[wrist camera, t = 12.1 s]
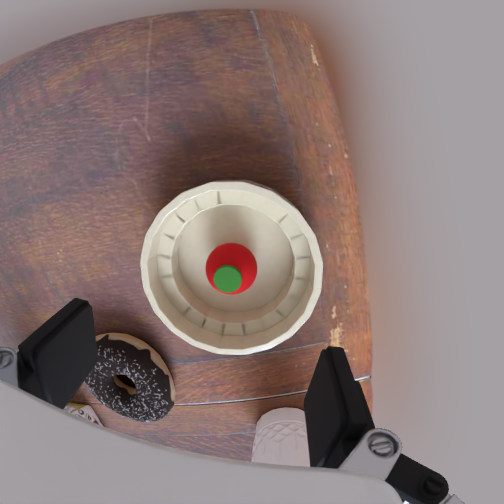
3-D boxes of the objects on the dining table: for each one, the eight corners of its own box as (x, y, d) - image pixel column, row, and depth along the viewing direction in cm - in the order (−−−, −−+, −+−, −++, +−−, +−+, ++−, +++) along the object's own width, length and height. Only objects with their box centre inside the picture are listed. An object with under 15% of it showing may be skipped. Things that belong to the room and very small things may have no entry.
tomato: (201, 254, 25) (188, 273, 21) (238, 227, 24) (232, 241, 20) (230, 290, 26) (222, 314, 22) (267, 265, 25) (267, 286, 21)
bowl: (135, 240, 26) (109, 255, 21) (252, 147, 23) (248, 141, 18) (222, 346, 28) (215, 378, 23) (340, 273, 26) (355, 296, 21)
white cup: (315, 440, 32) (323, 502, 22) (254, 443, 32) (250, 506, 23) (319, 400, 30) (332, 470, 20) (249, 404, 30) (243, 475, 20)
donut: (141, 315, 28) (126, 335, 24) (198, 399, 30) (191, 424, 26) (74, 340, 29) (57, 358, 26) (127, 412, 32) (117, 433, 28)
